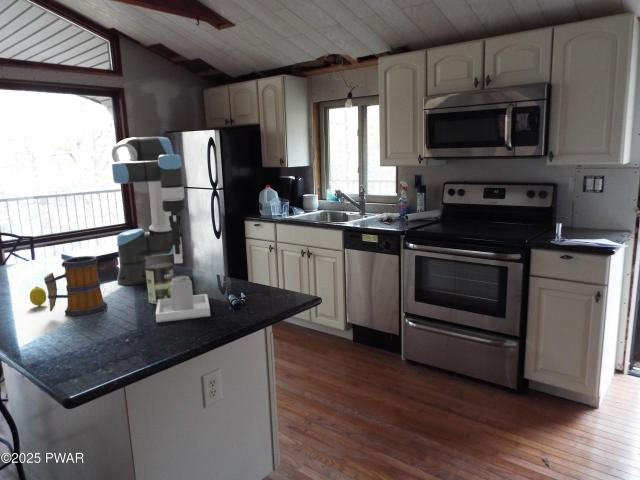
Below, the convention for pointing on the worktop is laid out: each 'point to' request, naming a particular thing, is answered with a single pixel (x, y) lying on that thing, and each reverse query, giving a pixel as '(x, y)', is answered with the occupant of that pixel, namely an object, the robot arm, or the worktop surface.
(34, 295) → the lemon
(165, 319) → the tray
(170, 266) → the coffee can
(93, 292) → the mug
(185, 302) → the can
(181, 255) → the robot arm
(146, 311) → the worktop surface
